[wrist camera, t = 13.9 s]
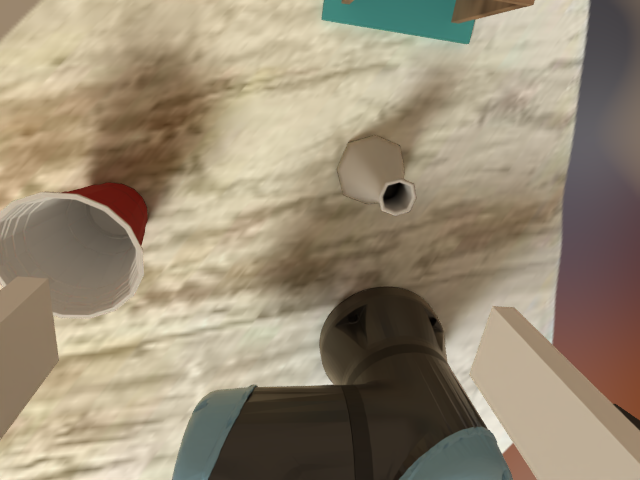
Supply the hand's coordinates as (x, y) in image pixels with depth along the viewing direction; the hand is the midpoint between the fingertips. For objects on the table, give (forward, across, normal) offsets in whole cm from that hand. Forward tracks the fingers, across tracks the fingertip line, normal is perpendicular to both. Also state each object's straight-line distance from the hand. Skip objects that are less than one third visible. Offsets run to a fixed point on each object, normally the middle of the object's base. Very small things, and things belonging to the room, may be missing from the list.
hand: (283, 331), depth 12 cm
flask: (+31, -10, +1) cm, 33 cm away
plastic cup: (+31, +15, +8) cm, 35 cm away
